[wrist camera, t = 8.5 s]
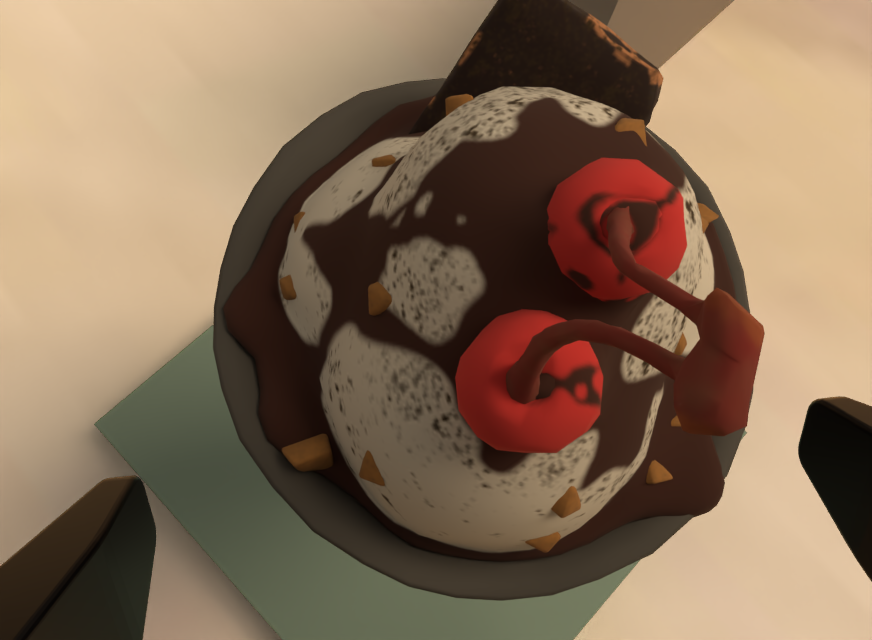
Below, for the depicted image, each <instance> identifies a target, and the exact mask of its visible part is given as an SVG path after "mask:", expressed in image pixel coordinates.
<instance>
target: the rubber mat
mask: <svg viewBox="0 0 872 640" xmlns="http://www.w3.org/2000/svg"><path fill="white" fill-rule="evenodd" d="M213 326H214V325H212V326H211V327H210V328H209V329H208V330H206V331H205V332H204V333H203V334H202V335H200V336H199V337H198V338H197V339H196V340H194V341H193V342H192V343H191V344H190V345H188V346H187V347H186V348H185V349H184V350H182V351H181V352H180V353H179V354H178V355H176V356H175V357H174V358H173V359H172V360H170V361H169V362H168V363H167V364H166V365H164V366H163V367H162V368H161V369H160V370H158V371H157V372H156V373H155V374H154V375H152V376H151V377H150V378H149V379H148V380H146V381H145V382H144V383H143V384H142V385H140V386H139V387H138V388H137V389H136V390H134V391H133V392H132V393H131V394H130V395H128V396H127V397H126V398H125V399H124V400H122V401H121V402H120V403H119V404H118V405H116V406H115V407H114V408H113V409H112V410H110V411H109V412H108V413H107V414H106V415H104V416H103V417H102V418H101V419H100V420H98V421H97V422H96V423H95V424H94V425H95V426H96V427H97V428H98V429H99V430H100V432H101V433H102V434H103V435H104V436H105V437H106V438H107V440H108V441H109V442H110V443H111V444H112V445H113V446H114V448H115V449H116V450H117V451H118V452H119V453H120V454H121V456H122V457H123V458H124V459H125V460H126V461H127V462H128V464H129V465H130V466H131V467H132V468H133V469H134V471H135V472H136V473H137V474H138V475H139V476H140V477H141V479H142V480H143V481H144V482H145V483H146V484H147V485H148V487H149V488H150V489H151V490H152V491H153V492H154V493H155V495H156V496H157V497H158V498H159V499H160V500H161V501H162V503H163V504H164V505H165V506H166V507H167V508H168V510H169V511H170V512H171V513H172V514H173V515H174V516H175V518H176V519H177V520H178V521H179V522H180V523H181V524H182V526H183V527H184V528H185V529H186V530H187V531H188V532H189V534H190V535H191V536H192V537H193V538H194V539H195V540H196V542H197V543H198V544H199V545H200V546H201V547H202V548H203V550H204V551H205V552H206V553H207V554H208V555H209V557H210V558H211V559H212V560H213V561H214V562H215V563H216V565H217V566H218V567H219V568H220V569H221V570H222V571H223V573H224V574H225V575H226V576H227V577H228V578H229V579H230V581H231V582H232V583H233V584H234V585H235V586H236V587H237V589H238V590H239V591H240V592H241V593H242V594H243V596H244V597H245V598H246V599H247V600H248V601H249V602H250V604H251V605H252V606H253V607H254V608H255V609H256V610H257V612H258V613H259V614H260V615H261V616H262V617H263V618H264V620H265V621H266V622H267V623H268V624H269V625H270V626H271V628H272V629H273V630H274V631H275V632H276V633H277V635H278V636H279V637H280V638H281V639H282V640H573V639H574V638H575V637H576V636H577V635H578V633H579V632H580V631H581V630H582V629H583V627H584V626H585V625H586V624H587V623H588V622H589V620H590V619H591V618H592V617H593V616H594V614H595V613H596V612H597V611H598V610H599V608H600V607H601V606H602V605H603V604H604V602H605V601H606V600H607V599H608V598H609V596H610V595H611V594H612V593H613V592H614V591H615V589H616V588H617V587H618V586H619V585H620V583H621V582H622V581H623V580H624V579H625V577H626V576H627V575H628V574H629V573H630V571H631V570H632V569H633V568H634V567H635V566H636V564H637V563H638V562H639V561H640V560H641V559H640V560H638V561H636V562H634V563H632V564H630V565H628V566H626V567H624V568H622V569H620V570H618V571H616V572H614V573H612V574H610V575H608V576H605V577H603V578H601V579H599V580H596V581H593V582H590V583H587V584H584V585H581V586H578V587H575V588H573V589H570V590H567V591H564V592H561V593H558V594H555V595H551V596H542V597H533V598H523V599H514V600H505V601H497V600H481V599H464V598H454V597H450V596H445V595H441V594H437V593H433V592H428V591H424V590H420V589H416V588H412V587H408V586H406V585H404V584H402V583H400V582H398V581H396V580H394V579H392V578H390V577H388V576H386V575H383V574H381V573H379V572H377V571H375V570H373V569H371V568H369V567H367V566H365V565H363V564H362V563H360V562H359V561H357V560H356V559H354V558H353V557H351V556H350V555H348V554H346V553H345V552H343V551H342V550H340V549H339V548H337V547H336V546H334V545H333V544H331V543H330V542H328V541H327V540H325V539H323V538H322V537H320V536H319V535H317V534H316V533H314V532H313V531H312V530H311V529H310V528H309V527H308V526H307V525H306V524H305V522H304V521H303V520H302V519H301V518H300V517H299V516H298V515H297V514H296V513H295V512H294V510H293V509H292V508H291V507H290V506H289V505H288V504H287V503H286V502H285V501H284V500H283V498H282V497H281V496H280V495H279V494H278V493H277V492H276V491H275V490H274V489H273V488H272V486H271V485H270V483H269V482H268V480H267V479H266V478H265V476H264V475H263V473H262V472H261V470H260V469H259V467H258V466H257V465H256V463H255V462H254V460H253V459H252V457H251V456H250V455H249V453H248V452H247V450H246V449H245V447H244V446H243V444H242V443H241V442H240V440H239V437H238V435H237V432H236V429H235V426H234V423H233V420H232V418H231V415H230V412H229V409H228V406H227V404H226V401H225V398H224V395H223V392H222V389H221V385H220V380H219V375H218V370H217V365H216V361H215V356H214V351H213ZM746 433H747V432H746V431H745V430H744V433H743V435H742V438H743V437H744V436H745V434H746ZM742 438H741V439H742Z"/></svg>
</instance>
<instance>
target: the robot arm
mask: <svg viewBox="0 0 872 640" xmlns="http://www.w3.org/2000/svg"><path fill="white" fill-rule="evenodd" d="M798 454H799V459H800V462H801V464H802V467H803V468H804V470H805V472H806V474H807V475H808V477H809V479H810V480H811V482H812V484H813V486H814V487H815V489H816V491H817V493H818V494H819V496H820V498H821V500H822V501H823V503H824V505H825V507H826V508H827V510H828V512H829V514H830V515H831V517H832V519H833V521H834V522H835V524H836V526H837V528H838V529H839V531H840V533H841V535H842V536H843V538H844V540H845V541H846V543H847V545H848V546H849V548H850V550H851V551H852V553H853V555H854V556H855V558H856V560H857V561H858V562H859V564H860V565H861V567H862V568H863V570H864V571H865V573H866V574H867V576H868V577H869V579H870V580H871V581H872V406H869V405H866V404H864V403H861V402H858V401H855V400H853V399H850V398H847V397H830V398H821V399H817V400H815V401H813V402H812V403H811V404H810V406H809V408H808V411H807V415H806V418H805V422H804V426H803V430H802V434H801V438H800V442H799V447H798ZM155 547H156V527H155V522H154V519H153V515H152V512H151V508H150V505H149V502H148V498H147V495H146V491H145V488H144V485H143V482H142V481H141V479H140V478H139V477H137V476H135V475H132V476H123V477H114V478H107V479H104V480H102V481H101V482H99V483H98V484H97V485H96V486H95V487H93V488H92V489H91V490H90V491H89V492H88V493H86V494H85V495H84V496H83V497H82V498H80V499H79V500H78V501H77V502H76V503H75V504H73V505H72V506H71V507H70V508H69V509H67V510H66V511H65V512H64V513H63V514H61V515H60V516H59V517H58V518H57V519H56V520H54V521H53V522H52V523H51V524H50V525H48V526H47V527H46V528H45V529H44V530H43V531H41V532H40V533H39V534H38V535H37V536H35V537H34V538H33V539H32V540H31V541H30V542H28V543H27V544H26V545H25V546H24V547H22V548H21V549H20V550H19V551H18V552H16V553H15V554H14V555H13V556H12V557H11V558H9V559H8V560H7V561H6V562H5V563H3V564H2V565H1V566H0V640H142V639H143V632H144V625H145V618H146V611H147V604H148V597H149V589H150V582H151V575H152V568H153V561H154V554H155Z"/></svg>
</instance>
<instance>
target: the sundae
mask: <svg viewBox="0 0 872 640" xmlns="http://www.w3.org/2000/svg"><path fill="white" fill-rule="evenodd" d="M662 82H663V77H662V75H661V73H660V72H659V70H658V68H657V67H656V66H654V65H653V64H652V63H650V62H649V61H648V60H647V59H645V58H644V57H643V56H642V55H640V54H639V53H638V52H636V51H635V50H634V49H633V48H631V47H630V46H629V45H628V44H627V43H626V42H625V41H624V40H623V39H621V38H620V37H619V36H618V35H617V34H616V33H615V32H614V31H612V30H611V29H610V28H609V27H607V26H606V25H605V24H603V23H602V22H601V21H599V20H598V19H596V18H595V17H594V16H592V15H591V14H589V13H588V12H586V11H584V10H583V9H581V8H579V7H578V6H576V5H574V4H573V3H571V2H570V1H569V0H498V1H497V3H496V4H495V6H494V7H493V8H492V10H491V11H490V13H489V14H488V16H487V17H486V19H485V20H484V22H483V23H482V24H481V26H480V27H479V29H478V30H477V32H476V33H475V35H474V36H473V38H472V39H471V41H470V43H469V44H468V46H467V47H466V49H465V51H464V52H463V54H462V55H461V57H460V58H459V60H458V62H457V63H456V65H455V66H454V68H453V70H452V71H451V73H450V74H449V76H448V77H447V79H444V78H442V79H432V80H421V81H411V82H404V83H400V84H395V85H391V86H387V87H383V88H379V89H374V90H370V91H366V92H362V93H360V94H358V95H356V96H354V97H353V98H351V99H349V100H347V101H346V102H344V103H342V104H340V105H338V106H337V107H335V108H333V109H331V110H330V111H328V112H326V113H324V114H322V115H321V116H320V117H318V118H317V119H316V120H315V121H313V122H312V123H311V124H310V125H308V126H307V127H306V128H305V129H304V130H302V131H301V132H300V133H299V134H297V135H296V136H295V137H294V138H292V139H291V140H290V141H289V142H287V143H286V144H285V145H284V146H283V147H282V148H281V150H280V151H279V152H278V154H277V155H276V157H275V158H274V159H273V161H272V162H271V164H270V165H269V167H268V168H267V169H266V171H265V172H264V174H263V175H262V176H261V178H260V179H259V181H258V182H257V183H256V185H255V186H254V188H253V190H252V192H251V193H250V195H249V197H248V199H247V201H246V203H245V205H244V207H243V209H242V210H241V212H240V214H239V216H238V218H237V220H236V222H235V224H234V225H233V228H232V232H231V235H230V238H229V242H228V245H227V248H226V252H225V255H224V258H223V262H222V265H221V269H220V275H219V281H218V286H217V292H216V298H215V304H214V326H213V351H214V356H215V361H216V365H217V370H218V375H219V380H220V385H221V389H222V392H223V395H224V398H225V401H226V404H227V406H228V409H229V412H230V415H231V418H232V420H233V423H234V426H235V429H236V432H237V435H238V437H239V440H240V442H241V443H242V444H243V446H244V447H245V449H246V450H247V452H248V453H249V455H250V456H251V457H252V459H253V460H254V462H255V463H256V465H257V466H258V467H259V469H260V470H261V472H262V473H263V475H264V476H265V478H266V479H267V480H268V482H269V483H270V485H271V486H272V488H273V489H274V490H275V491H276V492H277V493H278V494H279V495H280V496H281V497H282V498H283V500H284V501H285V502H286V503H287V504H288V505H289V506H290V507H291V508H292V509H293V510H294V512H295V513H296V514H297V515H298V516H299V517H300V518H301V519H302V520H303V521H304V522H305V524H306V525H307V526H308V527H309V528H310V529H311V530H312V531H313V532H314V533H316V534H317V535H319V536H320V537H322V538H323V539H325V540H327V541H328V542H330V543H331V544H333V545H334V546H336V547H337V548H339V549H340V550H342V551H343V552H345V553H346V554H348V555H350V556H351V557H353V558H354V559H356V560H357V561H359V562H360V563H362V564H363V565H365V566H367V567H369V568H371V569H373V570H375V571H377V572H379V573H381V574H383V575H386V576H388V577H390V578H392V579H394V580H396V581H398V582H400V583H402V584H404V585H406V586H408V587H412V588H416V589H420V590H424V591H428V592H433V593H437V594H441V595H445V596H450V597H454V598H464V599H481V600H497V601H505V600H514V599H523V598H533V597H542V596H551V595H555V594H558V593H561V592H564V591H567V590H570V589H573V588H575V587H578V586H581V585H584V584H587V583H590V582H593V581H596V580H599V579H601V578H603V577H605V576H608V575H610V574H612V573H614V572H616V571H618V570H620V569H622V568H624V567H626V566H628V565H630V564H632V563H634V562H636V561H638V560H640V559H642V558H644V557H646V556H649V555H651V554H653V553H654V552H655V551H656V550H657V549H658V548H659V547H660V546H662V545H663V544H664V543H665V542H666V541H667V540H668V539H669V538H670V537H672V536H673V535H674V534H675V533H676V532H677V531H678V530H679V529H680V528H682V527H683V526H684V525H685V524H686V523H687V522H688V521H689V520H691V519H692V518H693V517H696V516H699V515H702V514H704V513H707V512H709V511H710V510H712V509H713V508H714V507H715V506H716V505H717V504H718V502H719V500H720V498H721V497H722V494H723V489H724V484H725V482H724V478H725V477H726V476H727V474H728V472H729V469H730V467H731V464H732V461H733V459H734V456H735V454H736V451H737V448H738V446H739V443H740V441H741V438H742V435H743V433H744V430H745V427H746V426H747V421H748V413H749V408H750V403H751V399H752V394H753V384H754V379H755V375H756V370H757V366H758V361H759V356H760V352H761V347H762V343H763V338H764V328H763V325H762V324H760V323H759V322H758V321H757V320H756V319H755V318H754V317H753V316H752V315H751V314H750V310H749V304H748V297H747V291H746V285H745V278H744V272H743V269H742V266H741V263H740V260H739V257H738V254H737V251H736V248H735V245H734V242H733V239H732V236H731V233H730V231H729V229H728V227H727V225H726V223H725V221H724V218H723V216H722V214H721V212H720V210H719V208H718V206H717V204H716V202H715V200H714V198H713V196H712V194H711V192H710V190H709V188H708V186H707V185H706V184H705V183H704V182H703V181H702V180H701V179H700V177H699V176H698V175H697V174H696V173H695V172H694V171H693V170H692V168H691V167H690V166H689V165H688V164H687V163H686V162H685V161H684V159H683V158H682V157H681V156H680V155H679V154H678V153H677V152H676V150H674V149H673V148H672V147H671V146H669V145H668V144H667V143H666V142H664V141H663V140H662V139H661V138H659V137H658V136H657V135H656V134H654V133H653V132H652V131H651V130H649V129H648V128H647V127H646V126H647V124H648V123H649V122H650V119H651V115H652V111H653V109H654V107H655V105H656V103H657V101H658V98H659V94H660V90H661V86H662Z"/></svg>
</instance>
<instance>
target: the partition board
mask: <svg viewBox="0 0 872 640" xmlns="http://www.w3.org/2000/svg"><path fill="white" fill-rule="evenodd" d="M569 1H570V2H571V3H573V4H574V5H576V6H578V7H579V8H581V9H583V10H584V11H586V12H588V13H589V14H591V15H592V16H594V17H595V18H596V19H598V20H599V21H601V22H602V23H603V24H605V25H606V26H607V27H609V28H610V29H611V30H612V31H614V32H615V33H616V34H617V35H618V36H619V37H620V38H621V39H623V40H624V41H625V42H626V43H627V44H628V45H629V46H630V47H631V48H633V49H634V50H635V51H636V52H638V53H639V54H640V55H642V56H643V57H644V58H645V59H647V60H648V61H649V62H650V63H652V64H653V65H654V66H656V67H657V68H660V67H661V66H662V65H663V64H664V63H665V62H666V61H667V60H668V59H670V58H671V57H672V56H673V55H674V54H675V53H676V52H677V51H678V50H679V49H681V48H682V47H683V46H684V45H685V44H686V43H687V42H688V41H689V40H691V39H692V38H693V37H694V36H695V35H696V34H697V33H698V32H699V31H701V30H702V29H703V28H704V27H705V26H706V25H707V24H708V23H709V22H710V21H712V20H713V19H714V18H715V17H716V16H717V15H718V14H719V13H720V12H722V11H723V10H724V9H725V8H726V7H727V6H728V5H729V4H730V3H732V2H733V1H734V0H569Z"/></svg>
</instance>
